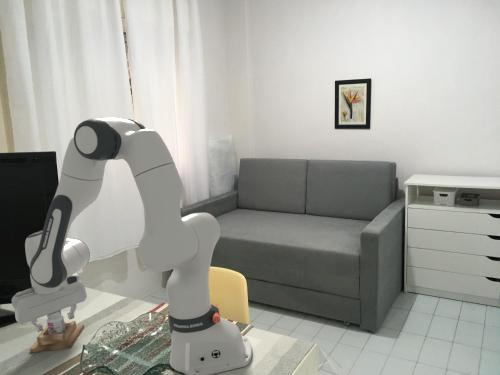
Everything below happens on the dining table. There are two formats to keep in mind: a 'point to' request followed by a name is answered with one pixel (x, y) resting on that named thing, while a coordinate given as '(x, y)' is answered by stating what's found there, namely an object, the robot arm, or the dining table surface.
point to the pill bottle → (55, 323)
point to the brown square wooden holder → (57, 338)
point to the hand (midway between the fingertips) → (56, 324)
